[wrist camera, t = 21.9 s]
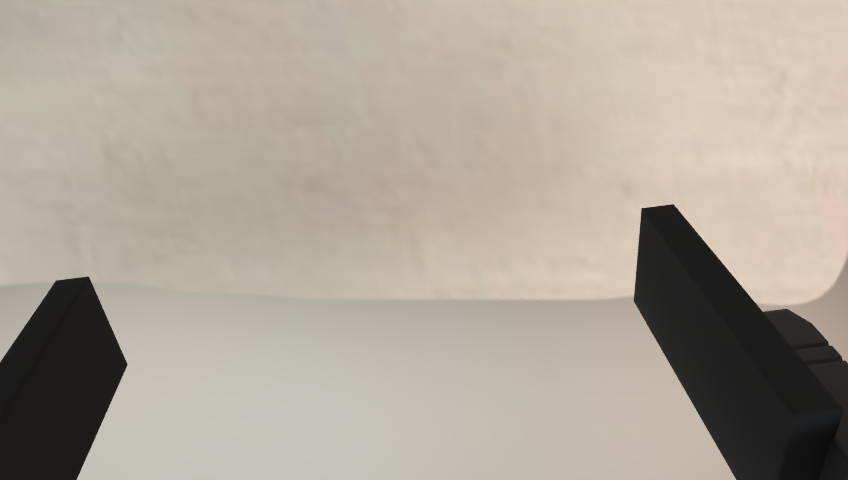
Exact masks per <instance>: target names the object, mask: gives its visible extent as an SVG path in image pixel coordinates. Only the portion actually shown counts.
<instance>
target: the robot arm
mask: <svg viewBox="0 0 848 480" xmlns="http://www.w3.org/2000/svg"><path fill="white" fill-rule="evenodd" d="M634 302H635V304H636V306H637V307H638V309H639V311H640V313H641V314H642V316H643V318H644V320H645V321H646V323H647V325H648V326H649V328H650V330H651V332H652V334H653V335H654V337H655V339H656V340H657V342H658V344H659V346H660V347H661V349H662V351H663V353H664V354H665V356H666V358H667V360H668V361H669V363H670V365H671V367H672V368H673V370H674V372H675V373H676V375H677V377H678V379H679V381H680V382H681V384H682V386H683V387H684V389H685V391H686V393H687V394H688V396H689V398H690V400H691V401H692V403H693V405H694V407H695V408H696V410H697V412H698V414H699V415H700V417H701V419H702V420H703V422H704V424H705V426H706V428H707V429H708V431H709V433H710V435H711V436H712V438H713V440H714V441H715V443H716V445H717V447H718V448H719V450H720V452H721V454H722V455H723V457H724V459H725V460H726V462H727V464H728V466H729V468H730V469H731V471H732V473H733V475H734V476H735V478H736V480H848V363H847V362H846V361H843V360H842V357H841V355H840V354H839V353H838V352H837V351H836V350H835V349H834V348H833V347H832V346H829V345H828V341H827V340H826V339H825V338H824V337H823V336H822V335H821V333H820V332H819V331H818V330H817V329H816V328H815V327H814V326H813V325H812V324H811V323H810V322H808V321H806V320H805V319H803V318H801V317H800V316H798V315H796V314H795V313H793V312H791V311H790V310H788V309H783V310H774V311H766V312H762V311H761V309H760V308H759V307H758V306H757V304H756V303H755V302H754V301H753V300H752V298H751V297H750V296H749V295H748V294H747V292H746V291H745V290H744V289H743V288H742V286H741V285H740V284H739V283H738V282H737V280H736V279H735V278H734V277H733V276H732V274H731V273H730V272H729V271H728V270H727V268H726V267H725V266H724V265H723V263H722V262H721V261H720V260H719V259H718V257H717V256H716V255H715V254H714V253H713V251H712V250H711V249H710V248H709V247H708V245H707V244H706V243H705V242H704V241H703V239H702V238H701V237H700V236H699V235H698V233H697V232H696V231H695V230H694V228H693V227H692V226H691V225H690V224H689V222H688V221H687V220H686V219H685V218H684V216H683V215H682V214H681V213H680V212H679V210H678V209H677V208H676V207H675V206H674V204H673V205H665V206H657V207H649V208H642V211H641V223H640V235H639V246H638V258H637V270H636V282H635V294H634ZM126 367H127V362H126V360H125V358H124V356H123V353H122V351H121V349H120V347H119V344H118V342H117V340H116V337H115V335H114V333H113V330H112V328H111V326H110V324H109V321H108V319H107V317H106V315H105V312H104V310H103V308H102V305H101V303H100V301H99V299H98V296H97V294H96V292H95V290H94V287H93V285H92V283H91V280H90V278H89V277H82V278H74V279H66V280H58V281H56V282H55V283H54V285H53V286H52V288H51V289H50V290H49V292H48V294H47V295H46V296H45V298H44V299H43V301H42V302H41V304H40V305H39V307H38V308H37V309H36V311H35V312H34V314H33V315H32V317H31V318H30V320H29V321H28V323H27V324H26V325H25V327H24V329H23V330H22V331H21V333H20V334H19V336H18V337H17V339H16V340H15V342H14V343H13V344H12V346H11V348H10V349H9V350H8V352H7V353H6V355H5V356H4V358H3V359H2V360H1V362H0V480H77V477H78V475H79V473H80V471H81V468H82V466H83V464H84V461H85V459H86V457H87V455H88V453H89V450H90V448H91V446H92V444H93V441H94V439H95V437H96V435H97V432H98V430H99V427H100V426H101V423H102V421H103V419H104V417H105V414H106V412H107V410H108V408H109V405H110V403H111V401H112V398H113V396H114V394H115V392H116V389H117V387H118V385H119V383H120V380H121V378H122V376H123V373H124V371H125V369H126Z"/></svg>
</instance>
